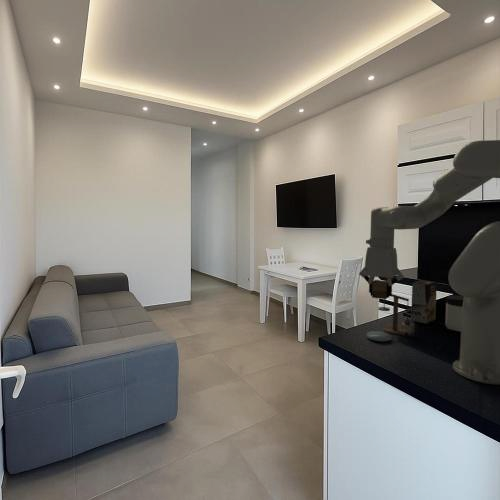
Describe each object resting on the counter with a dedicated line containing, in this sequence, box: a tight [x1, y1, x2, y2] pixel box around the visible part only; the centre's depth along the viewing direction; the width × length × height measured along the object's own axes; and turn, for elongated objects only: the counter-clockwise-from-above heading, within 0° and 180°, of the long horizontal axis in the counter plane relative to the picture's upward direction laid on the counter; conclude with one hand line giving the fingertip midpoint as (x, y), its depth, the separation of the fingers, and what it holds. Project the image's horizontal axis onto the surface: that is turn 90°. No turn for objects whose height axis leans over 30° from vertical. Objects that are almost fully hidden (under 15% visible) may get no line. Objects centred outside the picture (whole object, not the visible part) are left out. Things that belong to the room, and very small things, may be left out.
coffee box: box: [410, 279, 438, 325], centre depth 130 cm, size 9×6×16 cm
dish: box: [366, 330, 392, 343], centre depth 110 cm, size 8×8×1 cm
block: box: [371, 279, 388, 300], centre depth 109 cm, size 4×4×6 cm
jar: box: [444, 294, 464, 333], centre depth 120 cm, size 9×8×12 cm
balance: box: [378, 293, 414, 337], centre depth 116 cm, size 4×12×15 cm, turn 58°
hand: (380, 295), depth 109 cm, fingers closed on block, 4 cm apart
